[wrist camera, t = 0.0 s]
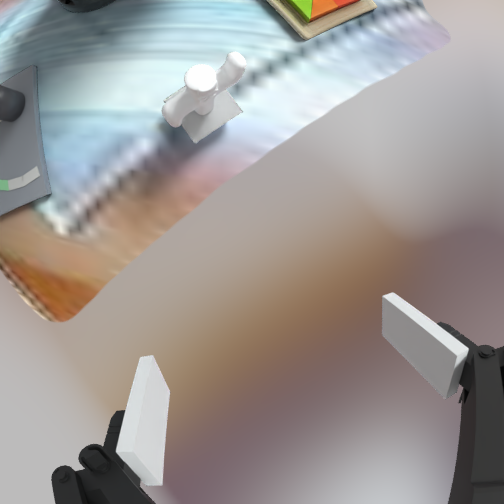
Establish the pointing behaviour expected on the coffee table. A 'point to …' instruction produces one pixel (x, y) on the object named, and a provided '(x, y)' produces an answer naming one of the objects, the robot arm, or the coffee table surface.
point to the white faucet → (205, 98)
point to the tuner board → (22, 149)
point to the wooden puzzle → (319, 13)
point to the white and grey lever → (10, 104)
